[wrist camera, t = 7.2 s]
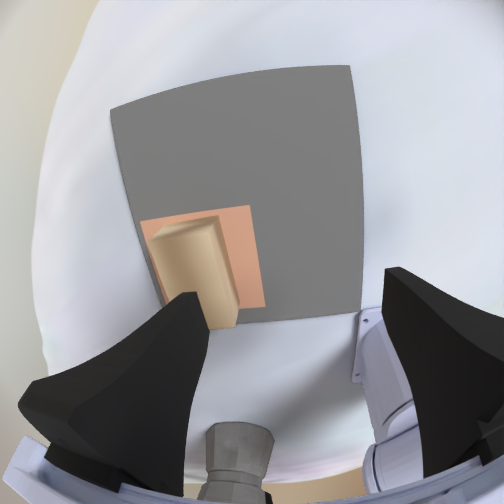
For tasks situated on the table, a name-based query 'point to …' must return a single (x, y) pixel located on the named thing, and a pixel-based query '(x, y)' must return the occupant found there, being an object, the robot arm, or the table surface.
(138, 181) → the mat
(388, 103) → the table surface
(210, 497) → the coffeepot
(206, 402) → the table surface
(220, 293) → the card box
